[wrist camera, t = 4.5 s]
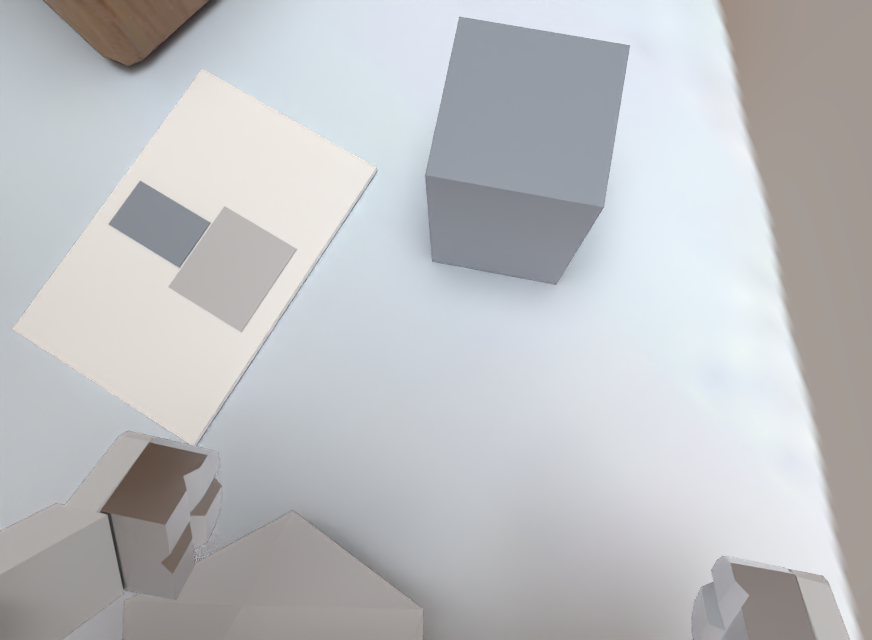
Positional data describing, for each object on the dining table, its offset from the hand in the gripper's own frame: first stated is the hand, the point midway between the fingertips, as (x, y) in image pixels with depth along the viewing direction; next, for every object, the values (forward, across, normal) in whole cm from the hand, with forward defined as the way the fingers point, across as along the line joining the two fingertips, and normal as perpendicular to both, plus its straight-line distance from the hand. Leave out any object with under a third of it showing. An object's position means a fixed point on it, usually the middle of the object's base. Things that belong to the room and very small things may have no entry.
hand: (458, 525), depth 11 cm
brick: (+16, 0, +2) cm, 17 cm away
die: (+5, +4, +14) cm, 15 cm away
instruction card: (+14, +11, +4) cm, 18 cm away
